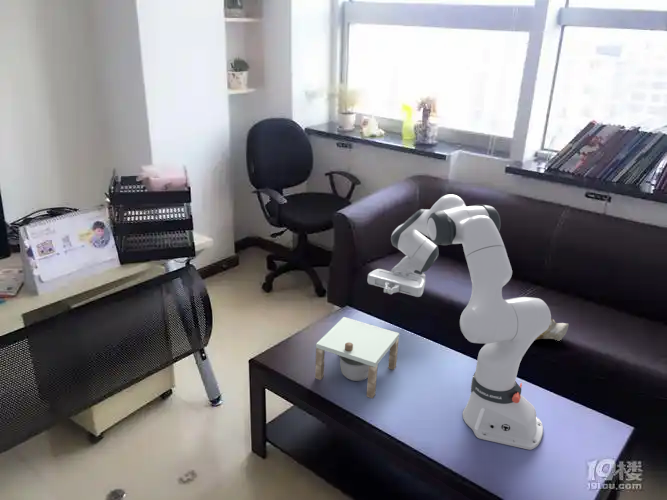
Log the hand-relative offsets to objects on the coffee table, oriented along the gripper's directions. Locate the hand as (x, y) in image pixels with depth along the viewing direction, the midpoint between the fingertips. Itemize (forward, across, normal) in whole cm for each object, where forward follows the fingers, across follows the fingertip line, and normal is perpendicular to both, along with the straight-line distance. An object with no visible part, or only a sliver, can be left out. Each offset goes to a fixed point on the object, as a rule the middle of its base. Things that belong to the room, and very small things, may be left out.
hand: (387, 291), depth 198 cm
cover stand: (+23, 0, +19) cm, 30 cm away
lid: (+23, 0, +8) cm, 24 cm away
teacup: (+23, 0, +20) cm, 30 cm away
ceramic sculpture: (-32, +50, +20) cm, 63 cm away
